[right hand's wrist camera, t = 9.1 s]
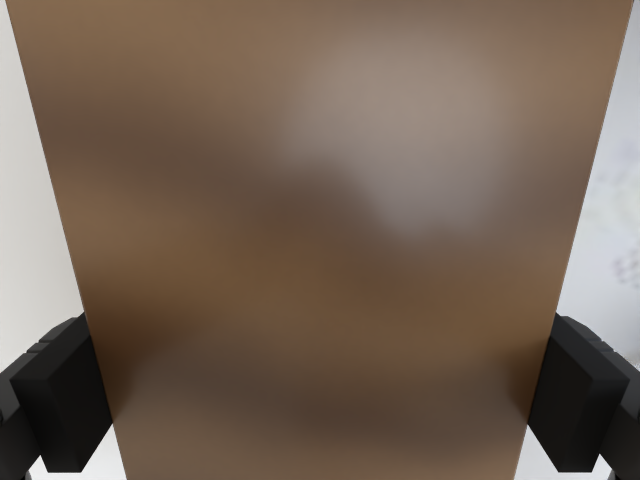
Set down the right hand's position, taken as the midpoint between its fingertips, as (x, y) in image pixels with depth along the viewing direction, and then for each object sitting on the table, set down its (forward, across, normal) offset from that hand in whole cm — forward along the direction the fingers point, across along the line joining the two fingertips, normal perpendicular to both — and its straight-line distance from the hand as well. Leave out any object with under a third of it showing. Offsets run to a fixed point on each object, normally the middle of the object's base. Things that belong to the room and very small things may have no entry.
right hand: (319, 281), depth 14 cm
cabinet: (+5, 0, -5) cm, 7 cm away
